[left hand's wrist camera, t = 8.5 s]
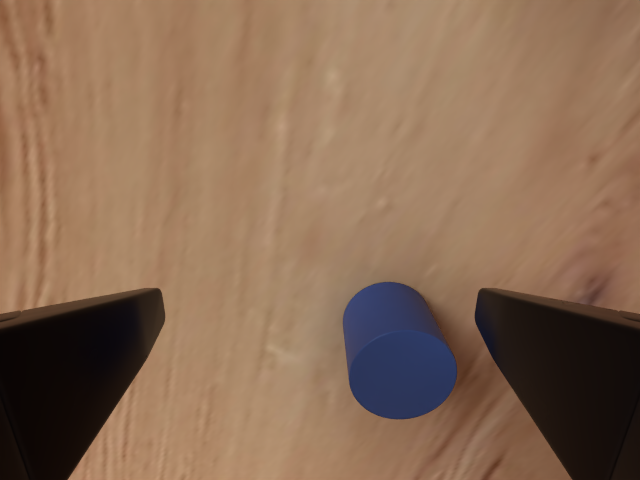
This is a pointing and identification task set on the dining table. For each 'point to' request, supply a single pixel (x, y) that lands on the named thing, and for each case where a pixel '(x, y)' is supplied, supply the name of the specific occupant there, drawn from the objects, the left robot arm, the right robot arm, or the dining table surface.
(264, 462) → the dining table surface
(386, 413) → the canister
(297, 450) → the dining table surface
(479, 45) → the dining table surface
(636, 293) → the dining table surface
